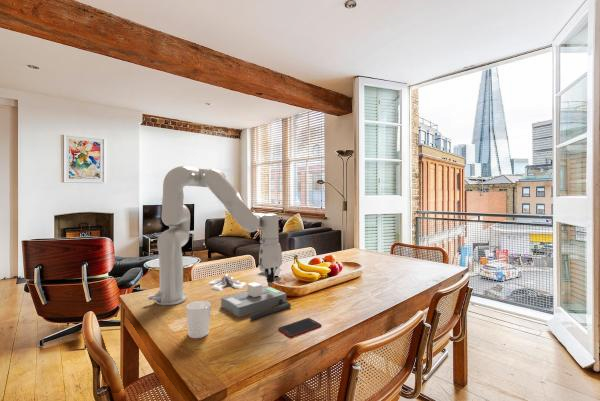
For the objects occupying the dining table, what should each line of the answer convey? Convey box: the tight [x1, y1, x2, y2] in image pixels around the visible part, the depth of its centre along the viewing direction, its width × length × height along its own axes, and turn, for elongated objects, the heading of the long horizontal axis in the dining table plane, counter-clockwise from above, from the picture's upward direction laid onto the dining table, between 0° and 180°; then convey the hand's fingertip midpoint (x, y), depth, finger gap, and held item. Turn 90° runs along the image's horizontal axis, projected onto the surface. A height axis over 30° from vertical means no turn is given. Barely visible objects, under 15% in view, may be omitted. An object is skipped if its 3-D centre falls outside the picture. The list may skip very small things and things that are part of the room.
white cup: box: [185, 300, 212, 339], centre depth 102 cm, size 8×8×10 cm
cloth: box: [207, 273, 247, 291], centre depth 156 cm, size 22×19×6 cm
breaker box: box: [220, 285, 287, 318], centre depth 129 cm, size 24×14×4 cm, turn 133°
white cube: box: [246, 281, 263, 297], centre depth 129 cm, size 4×5×4 cm
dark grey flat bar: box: [249, 300, 292, 321], centre depth 122 cm, size 20×6×2 cm, turn 133°
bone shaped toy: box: [257, 265, 282, 278], centre depth 174 cm, size 15×9×8 cm, turn 32°
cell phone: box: [277, 317, 322, 339], centre depth 108 cm, size 8×15×1 cm, turn 128°
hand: (270, 281), depth 134 cm, fingers closed
